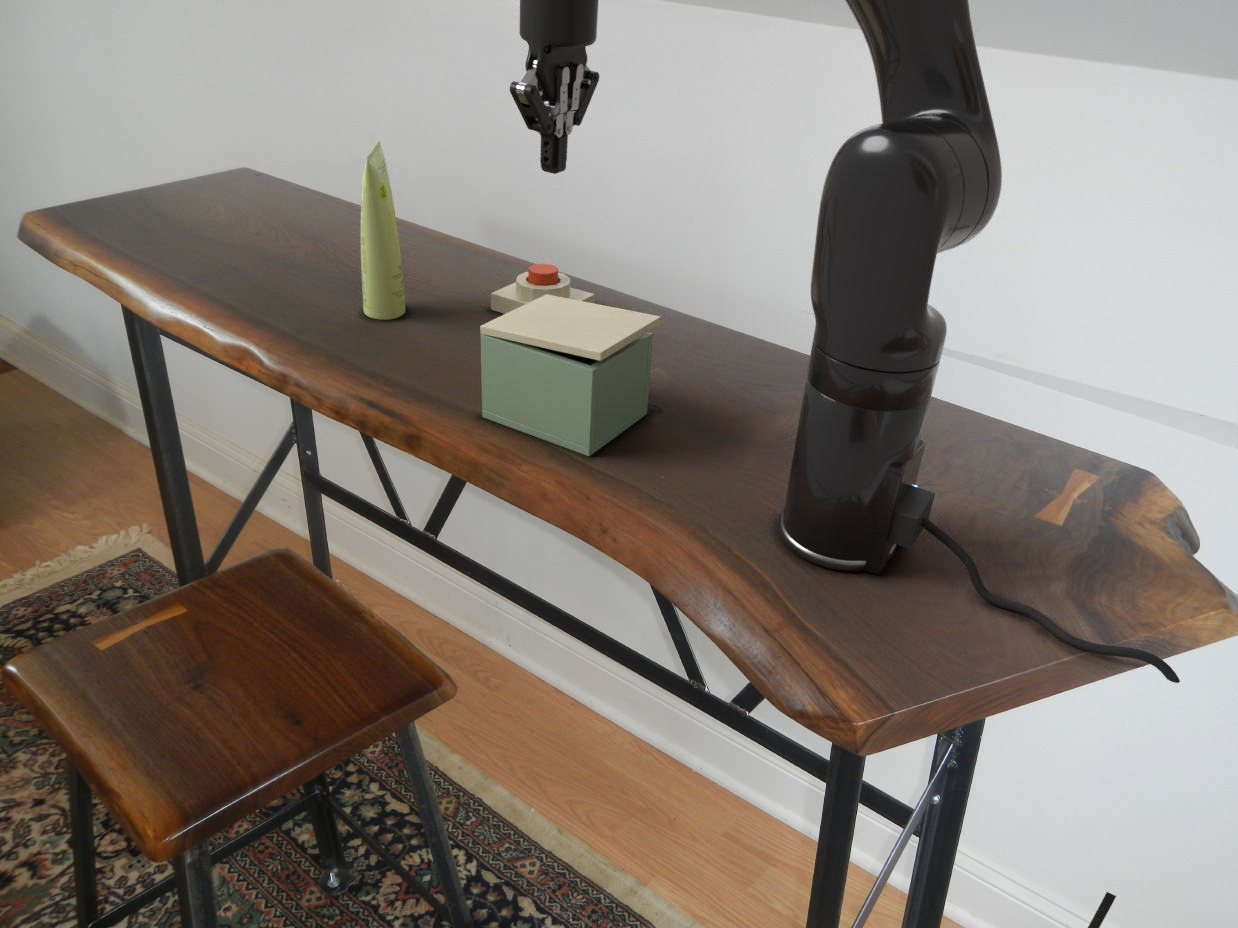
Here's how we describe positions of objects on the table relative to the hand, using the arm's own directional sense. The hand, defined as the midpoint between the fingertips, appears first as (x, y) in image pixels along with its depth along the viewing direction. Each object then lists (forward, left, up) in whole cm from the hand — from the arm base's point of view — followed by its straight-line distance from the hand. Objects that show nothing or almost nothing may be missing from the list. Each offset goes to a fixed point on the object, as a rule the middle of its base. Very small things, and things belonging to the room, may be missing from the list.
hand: (553, 171), depth 100 cm
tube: (+20, +6, -20) cm, 29 cm away
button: (+6, -7, -16) cm, 18 cm away
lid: (-12, +14, -10) cm, 21 cm away
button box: (+6, -7, -20) cm, 22 cm away
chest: (-12, +14, -20) cm, 27 cm away
